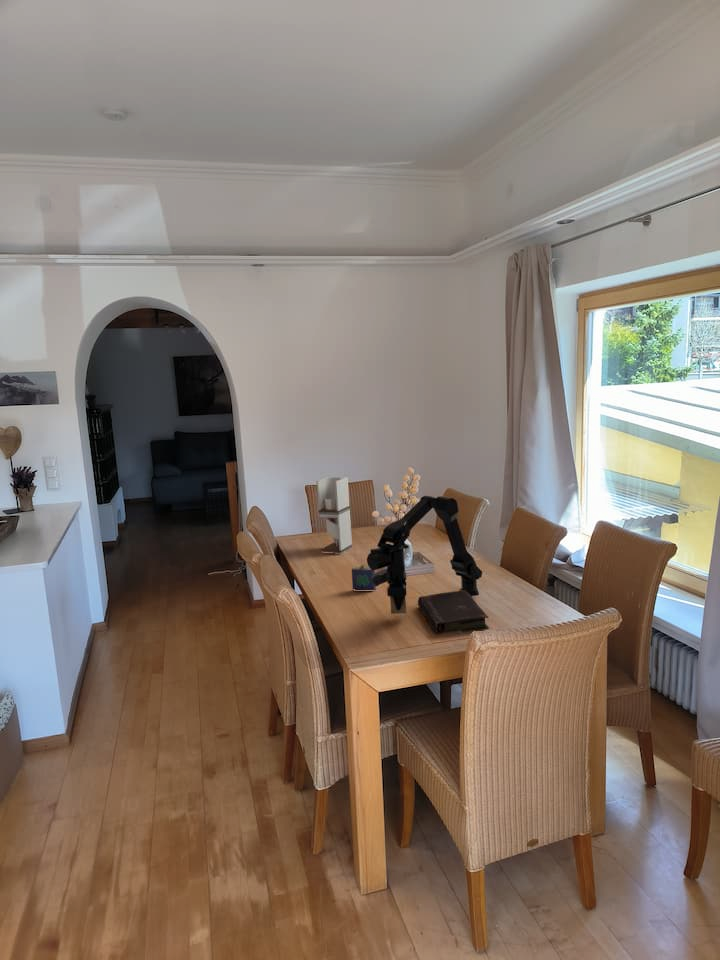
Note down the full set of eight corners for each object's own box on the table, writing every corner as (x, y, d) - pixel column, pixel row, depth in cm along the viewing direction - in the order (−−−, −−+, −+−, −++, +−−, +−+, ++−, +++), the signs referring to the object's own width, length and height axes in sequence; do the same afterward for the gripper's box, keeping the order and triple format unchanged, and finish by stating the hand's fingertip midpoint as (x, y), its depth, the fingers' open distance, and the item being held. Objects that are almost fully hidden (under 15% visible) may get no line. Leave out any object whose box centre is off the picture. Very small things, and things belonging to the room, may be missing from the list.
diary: (435, 637, 202) (434, 622, 201) (418, 609, 226) (417, 595, 226) (491, 630, 204) (491, 615, 203) (468, 603, 229) (468, 589, 228)
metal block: (391, 608, 219) (390, 591, 218) (406, 607, 218) (405, 591, 217) (391, 613, 214) (390, 596, 213) (406, 613, 214) (405, 596, 213)
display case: (333, 546, 313) (328, 476, 307) (352, 548, 308) (347, 477, 303) (321, 553, 303) (316, 481, 297) (341, 554, 298) (336, 481, 293)
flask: (376, 589, 248) (374, 563, 246) (375, 592, 245) (373, 565, 243) (353, 589, 250) (351, 563, 248) (351, 591, 247) (350, 565, 245)
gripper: (373, 556, 223) (376, 598, 226) (370, 572, 205) (373, 618, 207) (405, 554, 222) (407, 597, 225) (405, 571, 204) (407, 617, 207)
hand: (398, 607), depth 216 cm, fingers closed on metal block, 5 cm apart
